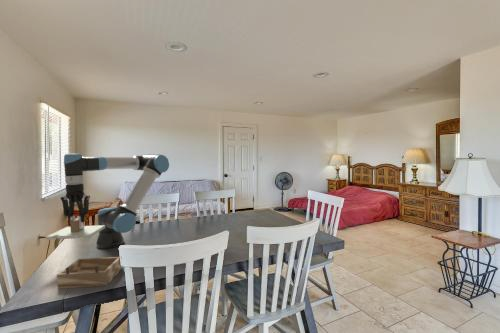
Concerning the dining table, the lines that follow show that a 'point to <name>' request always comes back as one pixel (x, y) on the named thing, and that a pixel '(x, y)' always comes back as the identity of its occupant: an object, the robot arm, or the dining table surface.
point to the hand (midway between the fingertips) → (77, 228)
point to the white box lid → (76, 231)
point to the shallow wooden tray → (89, 272)
